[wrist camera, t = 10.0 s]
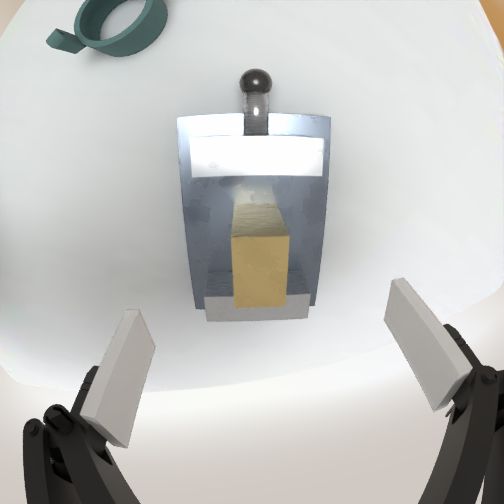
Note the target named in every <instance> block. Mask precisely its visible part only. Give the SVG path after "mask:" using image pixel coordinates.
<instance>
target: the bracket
mask: <svg viewBox="0 0 504 504" xmlns="http://www.w3.org/2000/svg"><path fill="white" fill-rule="evenodd" d="M125 1H127V0H85V2H84V3H83V4H82V6H81V7H80V9H79V11H78V13H77V16H76V19H75V23H74V32H75V35H73V34H70V33H68V32H65V31H62V30H59V29H57V28H56V29H55V30H54V32H53V33H52V34H51V35H50V36H49V37H48V39H47V40H46V42H47V44H48V45H49V46H50V47H52V48H55V49H59V50H63V51H66V52H70V53H73V54H76V53H78V52H79V51H80V50H82V49H83V48H85V47H86V46H88V47H91V48H93V49H96V50H98V51H101V52H103V53H106V54H108V55H111V56H115V57H123V56H129V55H132V54H135V53H137V52H139V51H141V50H143V49H144V48H146V47H148V46H149V45H150V44H151V43H153V42H154V41H155V40H156V38H157V37H158V36H159V35H160V34H161V32H162V31H163V29H164V27H165V24H166V21H167V16H168V13H167V8H166V5H165V4H164V2H163V1H162V0H146V4H145V7H144V9H143V11H142V13H141V14H140V16H139V17H138V18H137V19H136V21H135V22H134V23H133V24H132V25H131V26H129V27H128V28H127V29H126V30H124V31H123V32H121V33H120V34H118V35H116V36H114V37H112V38H109V39H106V40H101V41H100V29H101V26H102V24H103V22H104V20H105V18H106V17H107V16H108V14H109V13H110V12H111V11H112V10H113V9H114V8H116V7H117V6H118V5H120V4H121V3H123V2H125Z"/></svg>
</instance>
